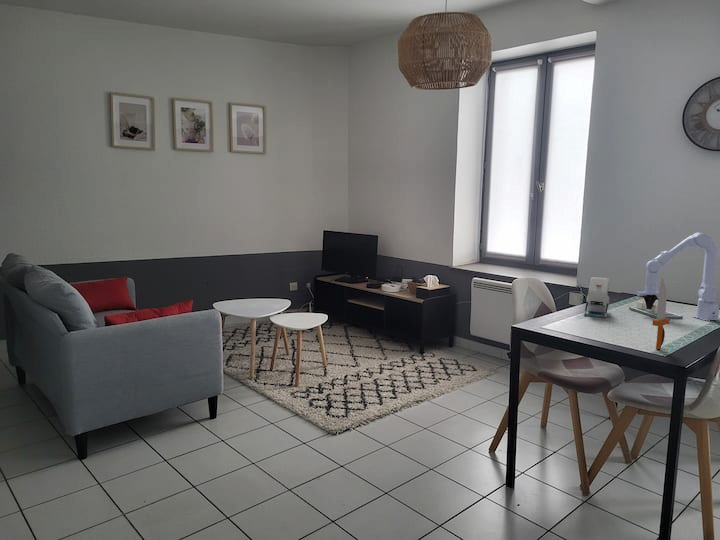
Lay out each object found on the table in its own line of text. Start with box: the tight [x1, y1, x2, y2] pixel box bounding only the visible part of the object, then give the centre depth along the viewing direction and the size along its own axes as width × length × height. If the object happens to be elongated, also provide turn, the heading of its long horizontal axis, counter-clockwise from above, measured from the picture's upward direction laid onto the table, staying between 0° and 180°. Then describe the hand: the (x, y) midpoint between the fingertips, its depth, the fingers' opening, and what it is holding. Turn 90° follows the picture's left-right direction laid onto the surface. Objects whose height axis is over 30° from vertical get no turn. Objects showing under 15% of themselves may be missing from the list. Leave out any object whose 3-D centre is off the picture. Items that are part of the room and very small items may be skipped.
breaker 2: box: [651, 303, 658, 312], centre depth 291 cm, size 4×2×4 cm
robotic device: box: [583, 276, 610, 319], centre depth 288 cm, size 10×21×20 cm
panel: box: [628, 306, 684, 320], centre depth 292 cm, size 23×14×1 cm, turn 9°
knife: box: [651, 277, 670, 350], centre depth 223 cm, size 8×2×30 cm, turn 126°
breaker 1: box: [636, 300, 646, 309], centre depth 298 cm, size 4×2×4 cm
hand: (649, 309), depth 291 cm, fingers closed
